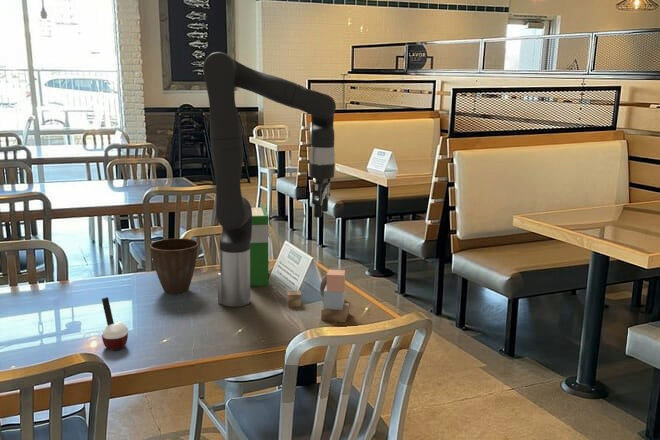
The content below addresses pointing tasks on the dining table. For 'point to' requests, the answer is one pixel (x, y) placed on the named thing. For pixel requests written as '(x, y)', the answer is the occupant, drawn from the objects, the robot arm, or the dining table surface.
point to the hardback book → (259, 247)
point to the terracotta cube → (336, 280)
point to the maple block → (294, 298)
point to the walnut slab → (335, 314)
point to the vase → (323, 286)
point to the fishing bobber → (113, 330)
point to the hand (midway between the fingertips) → (321, 214)
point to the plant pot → (174, 263)
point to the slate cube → (333, 300)
